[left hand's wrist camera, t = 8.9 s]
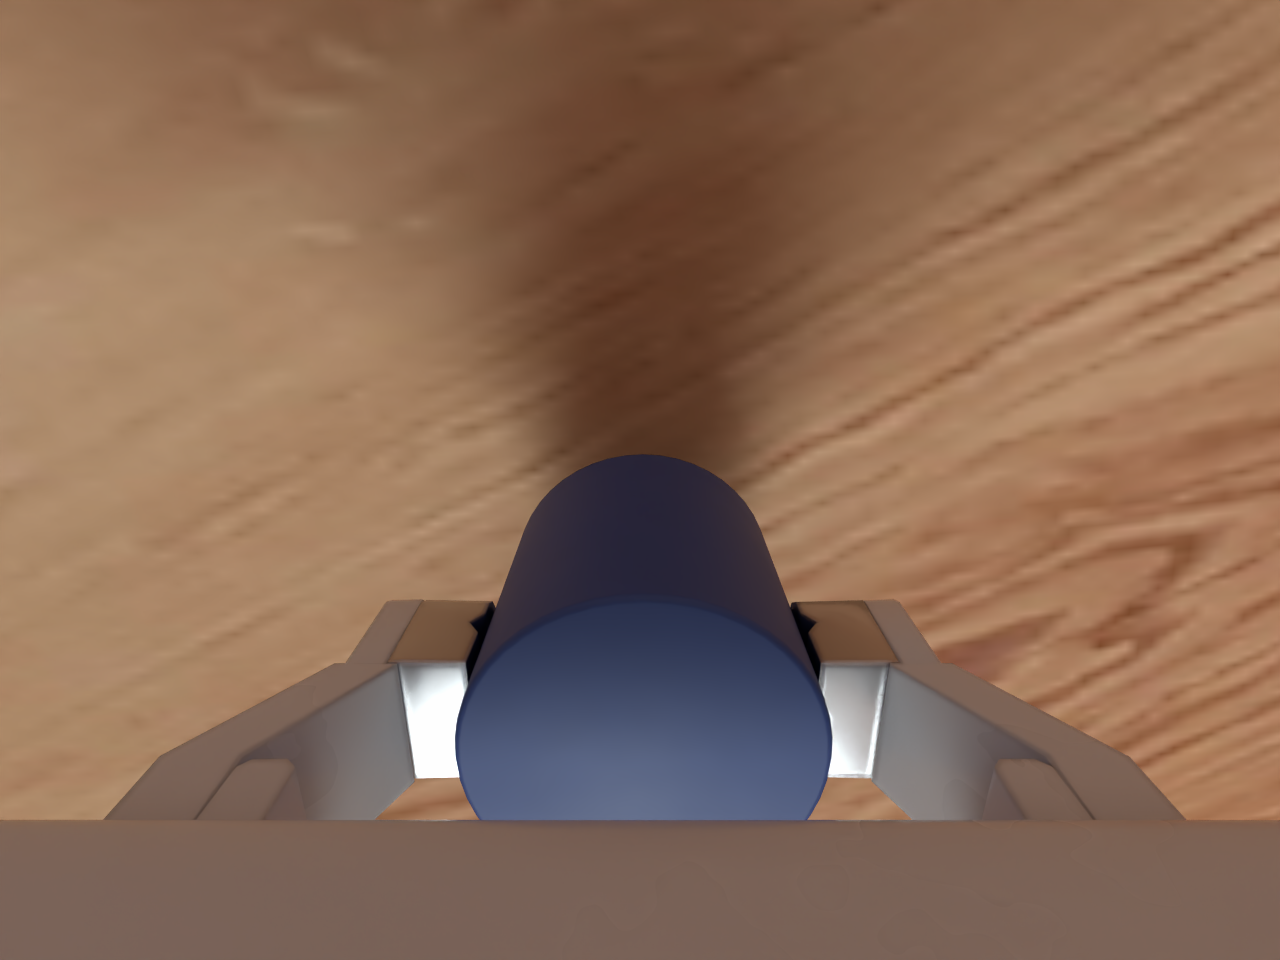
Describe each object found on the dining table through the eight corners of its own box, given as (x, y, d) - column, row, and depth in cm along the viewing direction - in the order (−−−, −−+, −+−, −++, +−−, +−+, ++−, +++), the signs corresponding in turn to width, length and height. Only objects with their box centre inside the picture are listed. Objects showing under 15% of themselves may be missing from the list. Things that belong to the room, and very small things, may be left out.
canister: (526, 671, 13) (470, 898, 9) (510, 452, 11) (432, 596, 7) (758, 672, 13) (816, 898, 9) (774, 453, 11) (855, 597, 7)
